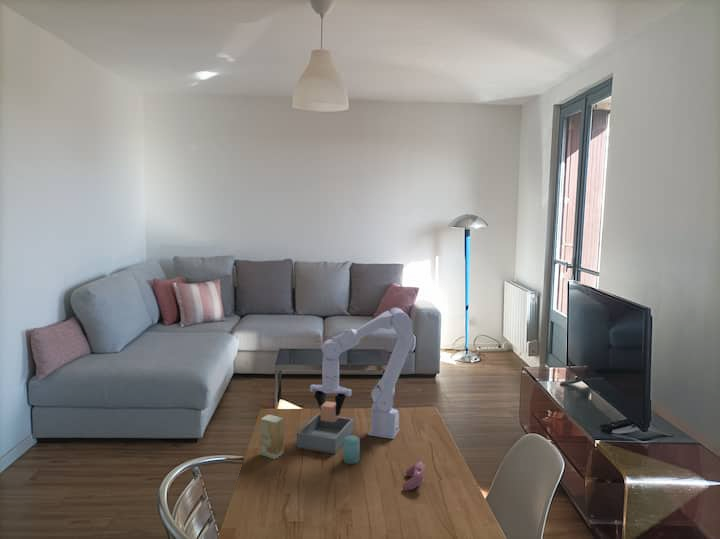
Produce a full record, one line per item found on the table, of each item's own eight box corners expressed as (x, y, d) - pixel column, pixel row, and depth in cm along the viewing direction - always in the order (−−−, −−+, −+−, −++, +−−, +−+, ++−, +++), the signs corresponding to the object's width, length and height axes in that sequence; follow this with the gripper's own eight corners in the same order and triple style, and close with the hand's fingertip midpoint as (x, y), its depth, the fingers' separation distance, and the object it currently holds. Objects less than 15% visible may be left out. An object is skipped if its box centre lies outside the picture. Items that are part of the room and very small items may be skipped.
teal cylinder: (361, 457, 175) (361, 436, 174) (357, 465, 170) (357, 443, 169) (345, 455, 176) (346, 434, 175) (341, 463, 171) (341, 441, 170)
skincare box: (259, 455, 176) (259, 418, 174) (268, 449, 179) (267, 413, 178) (276, 459, 173) (276, 422, 171) (284, 454, 176) (284, 417, 175)
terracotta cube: (339, 416, 192) (339, 402, 191) (334, 422, 187) (334, 408, 186) (325, 415, 193) (325, 401, 192) (320, 420, 188) (320, 406, 188)
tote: (353, 432, 193) (353, 418, 193) (335, 454, 177) (335, 439, 176) (317, 427, 198) (317, 413, 197) (296, 447, 181) (296, 433, 181)
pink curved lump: (415, 497, 154) (427, 477, 153) (400, 489, 155) (412, 469, 154) (418, 480, 164) (429, 461, 163) (404, 472, 165) (415, 453, 163)
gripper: (306, 376, 187) (306, 414, 189) (346, 381, 182) (346, 420, 184) (314, 370, 194) (314, 407, 195) (353, 374, 189) (353, 413, 191)
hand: (330, 413), depth 190 cm, fingers closed on terracotta cube, 5 cm apart
